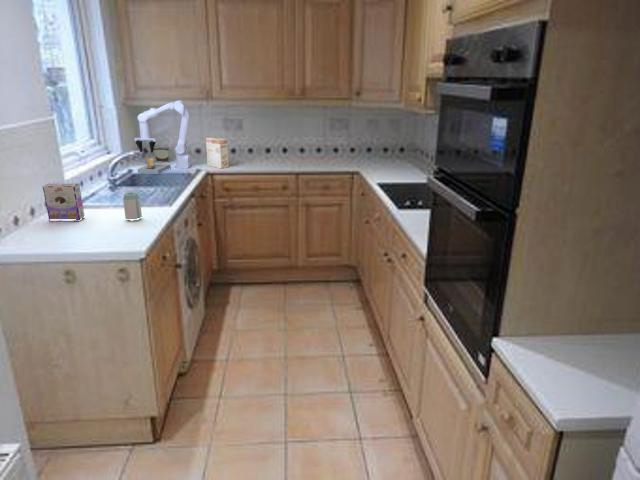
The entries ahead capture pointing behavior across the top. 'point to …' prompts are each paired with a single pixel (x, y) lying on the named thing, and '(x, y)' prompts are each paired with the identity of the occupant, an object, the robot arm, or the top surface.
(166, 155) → the food container
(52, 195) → the candy box
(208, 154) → the coffeecake box
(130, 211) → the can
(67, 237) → the top surface
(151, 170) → the board
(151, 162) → the peg
